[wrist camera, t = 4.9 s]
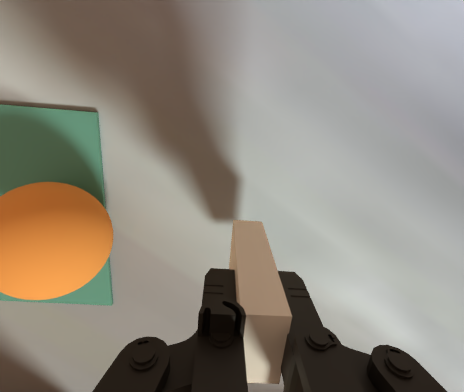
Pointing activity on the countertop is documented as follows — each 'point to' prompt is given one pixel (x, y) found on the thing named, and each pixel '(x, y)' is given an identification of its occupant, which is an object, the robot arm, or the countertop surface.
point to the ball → (51, 240)
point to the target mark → (55, 170)
